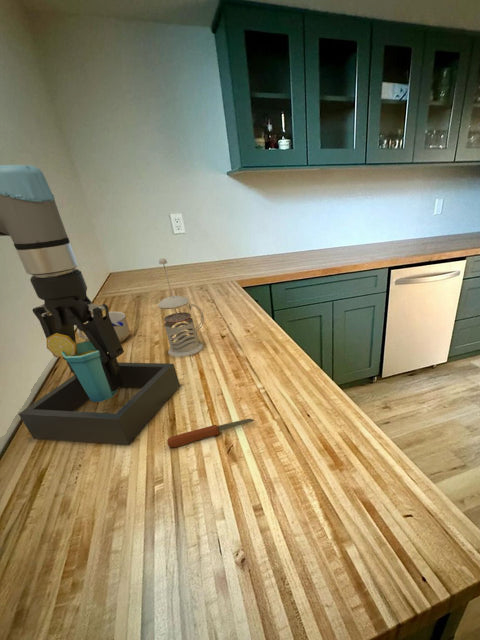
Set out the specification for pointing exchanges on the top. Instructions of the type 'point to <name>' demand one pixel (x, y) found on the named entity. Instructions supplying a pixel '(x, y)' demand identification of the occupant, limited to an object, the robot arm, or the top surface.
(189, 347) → the french press
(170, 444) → the kitchen knife
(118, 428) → the frame
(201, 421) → the top surface
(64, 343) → the cup
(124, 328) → the teacup
